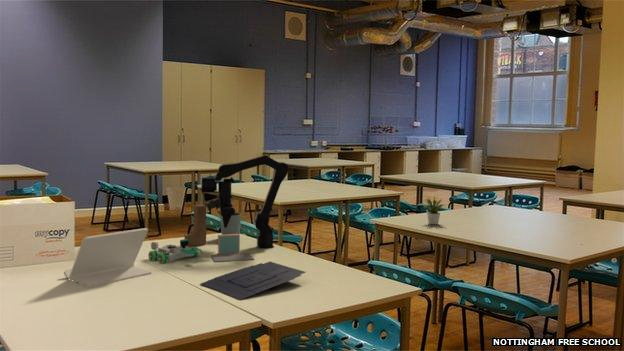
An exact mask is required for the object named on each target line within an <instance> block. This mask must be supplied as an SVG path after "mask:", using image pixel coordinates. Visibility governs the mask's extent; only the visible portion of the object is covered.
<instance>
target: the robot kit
mask: <svg viewBox="0 0 624 351" xmlns="http://www.w3.org/2000/svg"><path fill="white" fill-rule="evenodd" d="M179 242H180V243H179V245H175V244H174V245H173V244H166V245H163V246H160V247H159V242H156V241H152V242H150V251H149V252H148V259H149V261H150V262H155V261H158V263H159V264H160V265H161V264H162V265H163V264H166V263H167V262H168V261H172V260H178V259H182V258H188V257H192V258H197V257H198V256H199V254H202V253H203V249H202V248H198V247H197V246H191V247H190V246H188V243H189V240H188V239H185V238H184V239H180V240H179Z"/></svg>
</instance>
